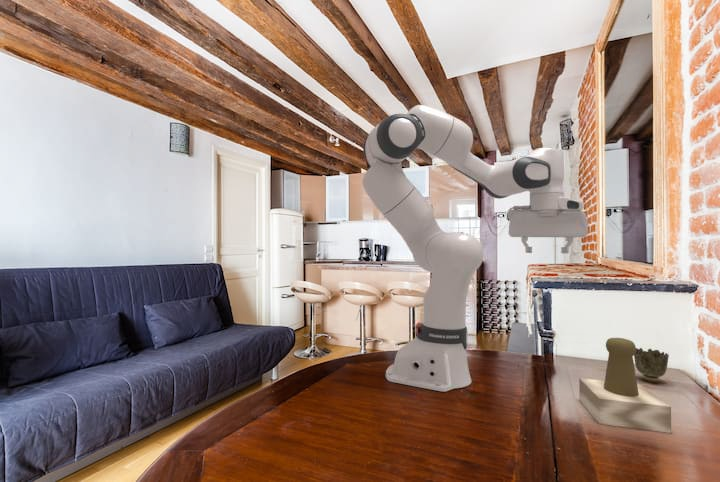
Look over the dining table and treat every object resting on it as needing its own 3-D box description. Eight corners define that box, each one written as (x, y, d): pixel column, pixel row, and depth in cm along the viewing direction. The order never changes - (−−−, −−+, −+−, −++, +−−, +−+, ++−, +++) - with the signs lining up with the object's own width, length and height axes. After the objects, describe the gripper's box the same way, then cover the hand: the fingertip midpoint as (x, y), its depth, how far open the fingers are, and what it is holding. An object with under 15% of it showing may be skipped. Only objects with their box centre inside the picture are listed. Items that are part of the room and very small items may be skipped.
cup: (638, 383, 93) (638, 353, 93) (629, 374, 100) (629, 346, 100) (674, 388, 90) (673, 356, 91) (662, 378, 97) (661, 349, 97)
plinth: (599, 423, 70) (599, 398, 71) (579, 399, 82) (579, 378, 82) (671, 433, 67) (671, 406, 67) (639, 406, 79) (639, 384, 79)
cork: (645, 397, 71) (645, 343, 72) (613, 395, 72) (613, 341, 73) (627, 386, 77) (627, 336, 78) (597, 384, 78) (597, 334, 79)
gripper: (509, 204, 101) (509, 252, 101) (590, 203, 96) (590, 253, 95) (506, 207, 107) (506, 252, 107) (582, 206, 102) (582, 253, 102)
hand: (546, 253), depth 101 cm, fingers open, 8 cm apart
